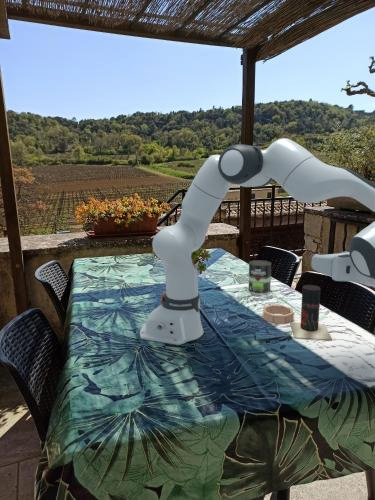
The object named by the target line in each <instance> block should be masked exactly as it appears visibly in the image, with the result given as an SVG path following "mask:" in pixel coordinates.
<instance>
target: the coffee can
mask: <svg viewBox="0 0 375 500" xmlns="http://www.w3.org/2000/svg"><path fill="white" fill-rule="evenodd" d="M271 276H272V262H270V261H268V260H263V259H262V260H260V259H257V260H256V259H255V260H254V259H253V260H250V261H249V262H248V293H250V294H252V295H257V296H265V295H266V296H267V295H269V294H270V293H271V278H272V277H271Z"/></svg>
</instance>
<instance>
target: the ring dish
mask: <svg viewBox="0 0 375 500" xmlns="http://www.w3.org/2000/svg"><path fill="white" fill-rule="evenodd" d="M262 309H263V310H262V315H263V316H262V318H263V320H264V321H267V322H269V323H271V324H280V325H282V324H283V325H285V324H290V322H294V318H295V317H294V314H295V312H294V309H293V308H291V307H290V306H287V305H283V304H282V305H281V304H269V305H266V306H263V308H262Z"/></svg>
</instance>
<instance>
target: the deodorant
mask: <svg viewBox="0 0 375 500" xmlns="http://www.w3.org/2000/svg"><path fill="white" fill-rule="evenodd" d="M301 290H302V291H301V305H300V306H301V309H300V311H301V312H300V323H301V329H303V330H305V331H317V330H318V324H320V322H319V321H320V320H319V319H320V306H321V305H320V304H321V290H322V289H321V287H320V286H318V285H313V284H304V285H303V286H302V288H301Z"/></svg>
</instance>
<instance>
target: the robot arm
mask: <svg viewBox="0 0 375 500" xmlns="http://www.w3.org/2000/svg"><path fill="white" fill-rule="evenodd" d="M273 181H275V182H276V183H277V184H278V185H279V186H281V188H282V189H283V190H284V191H285V192H286V193H287V194H288V195H289V196H290V197H291V198H293V199H294V200H296V201H297V202H299V203H306V204H314V203H320V202H323V201H325V200H330V199H333V198H339V197H347V198H351V199H354V200H356V201H358V202H359V203H360V204H361V205H364V206H365V207H366V208H368V209H369V210H371V211H372V212H374V213H375V183H374V182H372V181H371V180H369V179H367V178H366V177H365V176H363V175H361V174H359V173H358V172H356V171H354V170H352V169H350V168H349V167H344V166H343V167H340V166H339V167H336V166H333V165H329V164H327V163H325V162H323V161H321V160H320V159H318V158H317V157H316V156H315V155H314V154H313V153H311V152H310V151H309V150H307V148H304V147H303V146H301V145H300V144H299V143H297V142H296V141H294V140H292V139H290V138H285V137H284V138H279V139H276V140H275V141H273V142H272V143H271V144H269V146H268V147H267V148H265V149H260V147H258V146H254V145H248V144H239V143H238V144H232V145H229V146H228V147H226V148H225V149H224V150H223V151H222V152H221V154H212V155H210V156H209V157H208V158H207V159H206V160H205V161H204V163H203V164H202V166H201V167H200V168H199V169H198V172H196V174H195V176H194V178H193V180H192V182H191V184H190V186H189V188H188V190H187V191H186V193H185V196H184V197H183V199H182V202H181V211H180V216H179V217H178V219H177V222H176V223H175V224H172V225H169V226H165V227H164V228H162V229H161V230H159V232H157V233H156V234H155V235H154V237H153V239H152V243H151V246H152V251H153V252H154V254H155V256H156V257H157V258H158V259H159V260H160V261H161V263H162V266H163V270H164V275H165V289H166V290H164V291H163V292H162V294H161V297H160V301H159V302H160V305H159V306H157V307H156V308H154V309H152V311H151V312H150V313H149V314H148V316H147V318H146V322H145V324H144V325H143V326H142V327H141V328H140V330H139V338H140V339H141V340H147V341H152V342H158V343H165V344H170V345H177V346H181V345H184V344H185V343H187V342H191V341H195V340H197V339H200V337H202V336H203V335H204V328H203V325H202V322H201V320H202V319H201V314H200V309H201V298H200V297H201V296H200V293H199V274H198V271H197V270H196V268H195V267H194V263H193V260H192V253H194V252H196V251H198V250H199V249H200V248H201V247H202V246H203V244H204V242H205V241H206V238H207V237H206V236H207V233H208V230H209V227H210V225H211V222H212V219H213V218H214V216H215V215H216V212H217V211H218V209H219V207H220V205H221V204H222V202H223V201H224V199H225V197H226V196H227V193H228V192H229V190H230V188H231V187H232V186H234V185H236V186H240V187H244V188H251V187H252V188H263V187H265V186H268V185H269V184H270V183H271V184H272V182H273ZM348 244H349V245H348V251H341V252H340V253H331V254H330V253H328V254H327V253H326V254H321V253H315V254H313V255H312V257H311V263H310V264H311V268H312V269H313V270H314V271H315V272H318V273H319V274H323V275H325V276H329V277H331V279H332V280H333V281H335V282H351V283H356V284H362V285H364V286H367V287H373V288H374V289H375V220H374V221H373V222H371V223H370V224H369V225H368V226H366V227H365V228H363V229H362V230H361V231H359V232H358V233H356V234H355V235H354V236H353V237H351V238H350V241H349V243H348Z"/></svg>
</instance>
